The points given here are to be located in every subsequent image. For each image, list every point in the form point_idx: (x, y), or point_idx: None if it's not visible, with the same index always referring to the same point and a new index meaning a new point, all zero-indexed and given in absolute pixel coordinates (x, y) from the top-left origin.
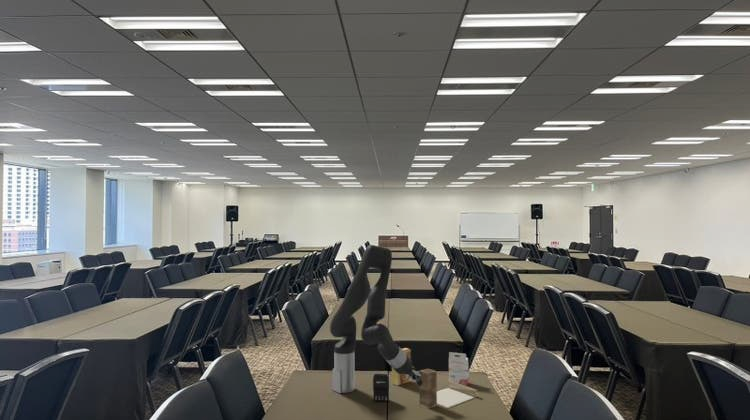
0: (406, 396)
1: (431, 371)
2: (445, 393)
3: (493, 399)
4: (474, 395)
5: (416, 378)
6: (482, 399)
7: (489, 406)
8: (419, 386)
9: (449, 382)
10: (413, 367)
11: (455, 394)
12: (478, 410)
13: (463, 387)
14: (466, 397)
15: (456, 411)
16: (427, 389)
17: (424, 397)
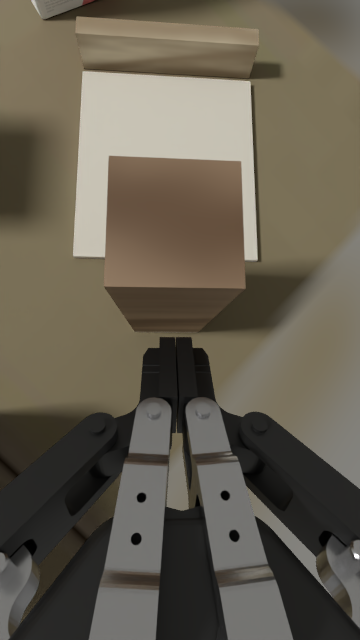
0: (2, 302)
1: (209, 201)
2: (127, 134)
3: (309, 41)
4: (247, 68)
5: (310, 546)
6: (280, 71)
7: (351, 112)
8: (124, 316)
9: (81, 36)
10: (286, 625)
11: (170, 112)
12: (354, 178)
13: (182, 43)
14: (229, 105)
15: (304, 256)
16: (206, 316)
17: (173, 326)
